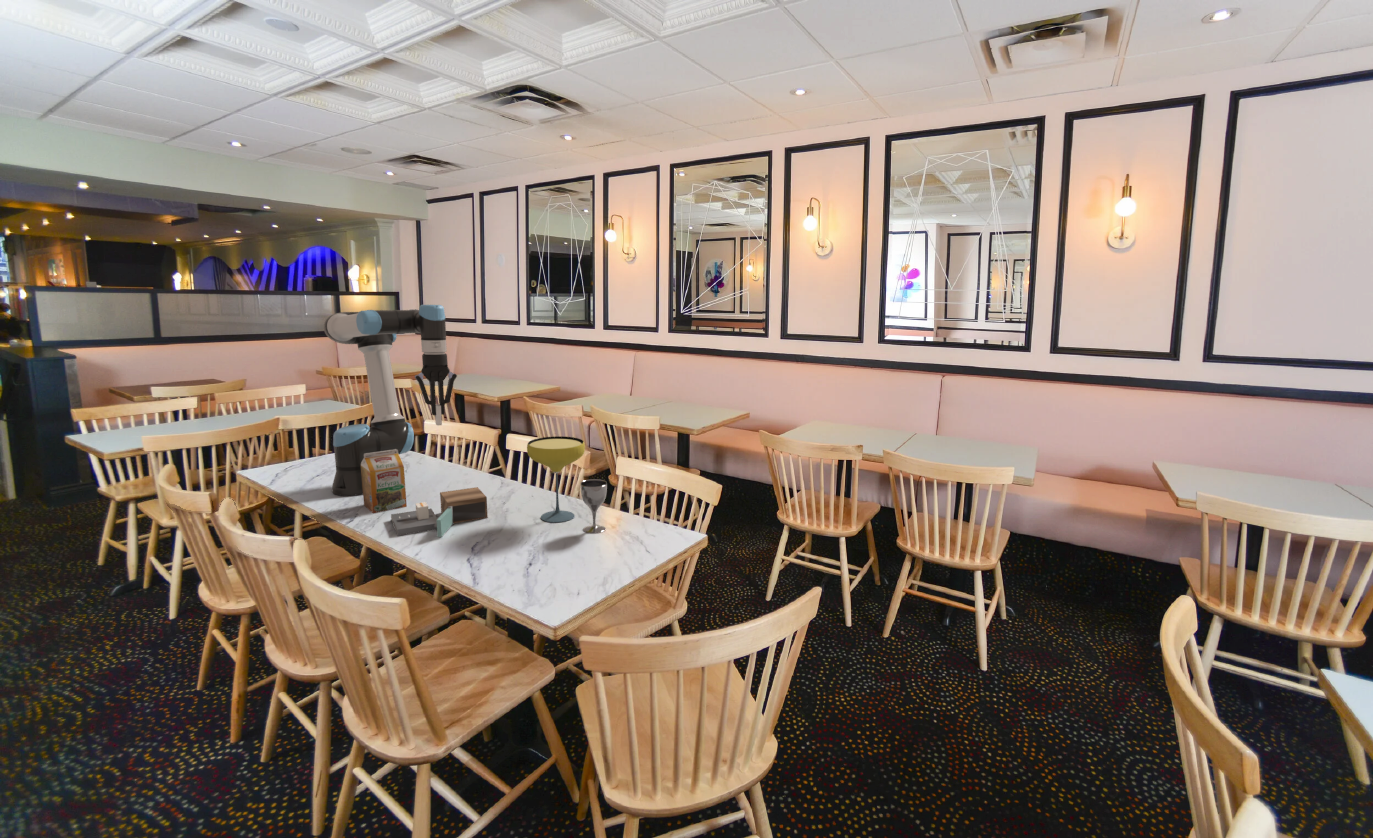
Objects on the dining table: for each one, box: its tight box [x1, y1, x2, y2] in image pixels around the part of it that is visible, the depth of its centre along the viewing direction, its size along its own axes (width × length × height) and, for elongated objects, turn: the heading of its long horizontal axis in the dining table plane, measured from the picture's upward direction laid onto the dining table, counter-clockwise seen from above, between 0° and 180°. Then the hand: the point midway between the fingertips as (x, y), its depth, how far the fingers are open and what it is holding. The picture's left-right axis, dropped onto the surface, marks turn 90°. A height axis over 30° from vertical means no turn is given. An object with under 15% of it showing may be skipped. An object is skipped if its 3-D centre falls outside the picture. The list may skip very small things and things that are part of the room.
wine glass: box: [580, 478, 608, 535], centre depth 193 cm, size 8×8×15 cm
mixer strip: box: [390, 508, 439, 537], centre depth 196 cm, size 15×12×2 cm
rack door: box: [434, 506, 454, 538], centre depth 190 cm, size 2×12×6 cm, turn 4°
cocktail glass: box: [526, 436, 586, 524], centre depth 202 cm, size 18×18×25 cm
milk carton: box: [361, 449, 407, 514], centre depth 210 cm, size 11×11×19 cm
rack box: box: [439, 486, 489, 524], centre depth 204 cm, size 12×12×7 cm
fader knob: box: [415, 501, 429, 520], centre depth 196 cm, size 4×3×4 cm
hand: (438, 424), depth 207 cm, fingers closed
